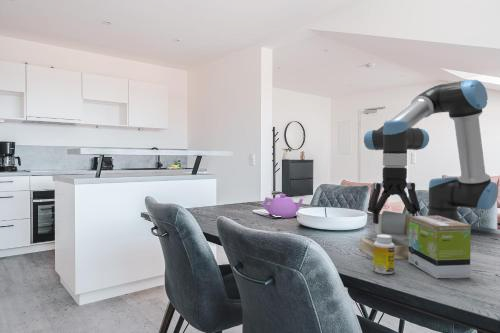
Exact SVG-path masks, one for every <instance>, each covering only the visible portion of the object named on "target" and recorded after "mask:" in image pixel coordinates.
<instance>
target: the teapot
mask: <svg viewBox="0 0 500 333" xmlns="http://www.w3.org/2000/svg"><path fill="white" fill-rule="evenodd" d="M269 201H270V204H269V205H268V203H269ZM303 201H304V198H300V199H299V200H298V202H297V204H296V203H295V202H294V200H293V199H292V197H289V196H286V194H285V193H280V194H279V196H275V197H274V198H271V197H267V196H266V197H265V198H264V200H263V204H262V208H263V209H265V211H267V213H268V214H269V215H270V214H271V215H275V216H281V218H280V219H289V218H294V217H295V216H296V215H297V214H296V212H297V211H298V212H299V210H300V208H301V206H302V204H303ZM298 212H297V213H298Z"/></svg>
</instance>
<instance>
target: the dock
mask: <svg viewBox="0 0 500 333" xmlns="http://www.w3.org/2000/svg"><path fill="white" fill-rule="evenodd" d="M376 241H377V237H369V238H359V250H360V252H362V253H364V254H366V255H368V256H369V257H371V258H373V256H374V242H376ZM392 243H393V244H394V246H395V247H394V260H405V259H408V260H409V236H407V237H406V236H402V237H401V236H399V237H398V236H397V237H393V236H392Z"/></svg>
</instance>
